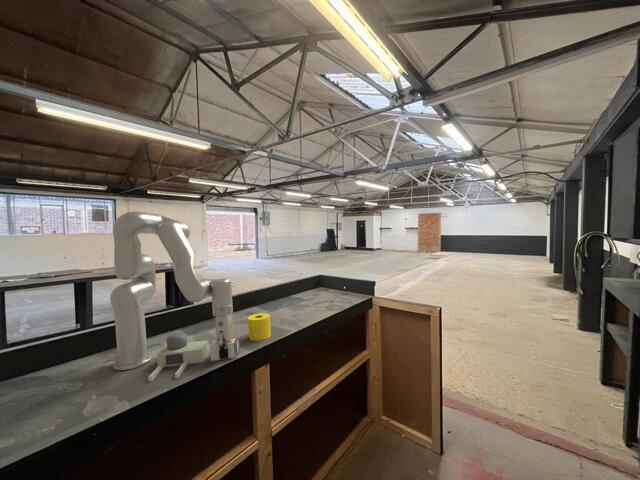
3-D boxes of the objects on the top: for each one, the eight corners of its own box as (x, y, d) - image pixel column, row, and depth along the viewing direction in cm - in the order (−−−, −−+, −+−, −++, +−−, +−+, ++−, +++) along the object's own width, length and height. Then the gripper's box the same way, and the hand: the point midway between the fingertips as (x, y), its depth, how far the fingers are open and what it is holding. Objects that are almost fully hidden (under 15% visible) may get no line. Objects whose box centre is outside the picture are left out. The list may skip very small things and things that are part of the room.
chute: (211, 360, 104) (210, 344, 104) (214, 355, 109) (213, 339, 109) (237, 357, 105) (236, 341, 105) (239, 352, 110) (238, 336, 110)
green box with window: (144, 381, 91) (142, 355, 90) (168, 356, 110) (167, 334, 110) (194, 375, 93) (192, 350, 93) (209, 351, 112) (207, 330, 112)
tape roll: (264, 341, 120) (263, 320, 120) (244, 339, 123) (243, 319, 123) (274, 333, 130) (273, 313, 130) (256, 332, 133) (255, 313, 132)
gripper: (228, 315, 98) (231, 363, 99) (236, 303, 116) (238, 345, 116) (207, 317, 97) (210, 366, 98) (218, 305, 114) (220, 347, 115)
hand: (225, 354), depth 107 cm, fingers open, 6 cm apart
